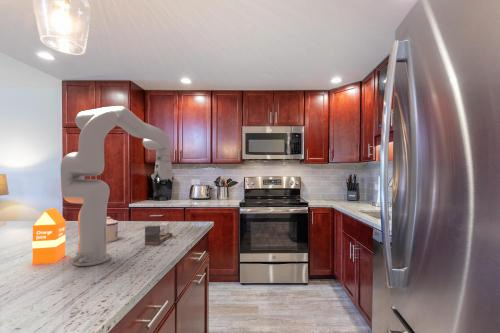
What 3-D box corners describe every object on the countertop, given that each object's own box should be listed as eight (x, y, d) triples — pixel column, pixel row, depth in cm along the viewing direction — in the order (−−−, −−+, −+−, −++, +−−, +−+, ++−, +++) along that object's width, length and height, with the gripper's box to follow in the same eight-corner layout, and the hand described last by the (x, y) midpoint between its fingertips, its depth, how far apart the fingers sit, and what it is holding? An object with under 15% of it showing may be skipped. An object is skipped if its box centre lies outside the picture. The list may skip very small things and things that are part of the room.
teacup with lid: (120, 240, 131) (120, 217, 131) (99, 243, 125) (99, 219, 125) (114, 235, 140) (114, 214, 140) (94, 238, 134) (95, 216, 134)
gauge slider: (166, 236, 132) (166, 224, 132) (155, 235, 132) (155, 223, 132) (170, 233, 138) (170, 221, 138) (160, 232, 138) (160, 221, 138)
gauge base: (157, 245, 122) (157, 227, 122) (144, 245, 122) (145, 227, 122) (172, 235, 140) (172, 219, 140) (161, 235, 140) (161, 219, 140)
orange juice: (31, 264, 98) (32, 211, 98) (43, 256, 106) (44, 207, 106) (56, 262, 100) (56, 210, 100) (65, 255, 108) (66, 207, 109)
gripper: (157, 158, 137) (157, 191, 138) (178, 159, 153) (178, 188, 153) (146, 159, 140) (146, 190, 141) (168, 159, 156) (168, 187, 156)
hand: (163, 189), depth 147 cm, fingers open, 9 cm apart
